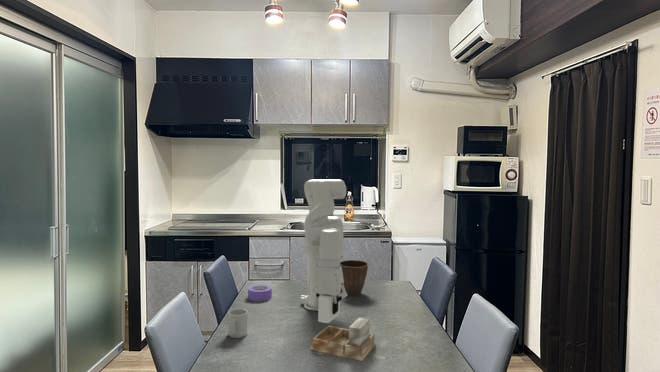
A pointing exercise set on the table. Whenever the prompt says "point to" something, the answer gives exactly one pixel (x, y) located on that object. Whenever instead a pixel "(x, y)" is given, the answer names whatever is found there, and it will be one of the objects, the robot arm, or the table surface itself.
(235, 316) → the cup
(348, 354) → the rack
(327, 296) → the panel
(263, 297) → the tape roll
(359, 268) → the plant pot
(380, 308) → the table surface
